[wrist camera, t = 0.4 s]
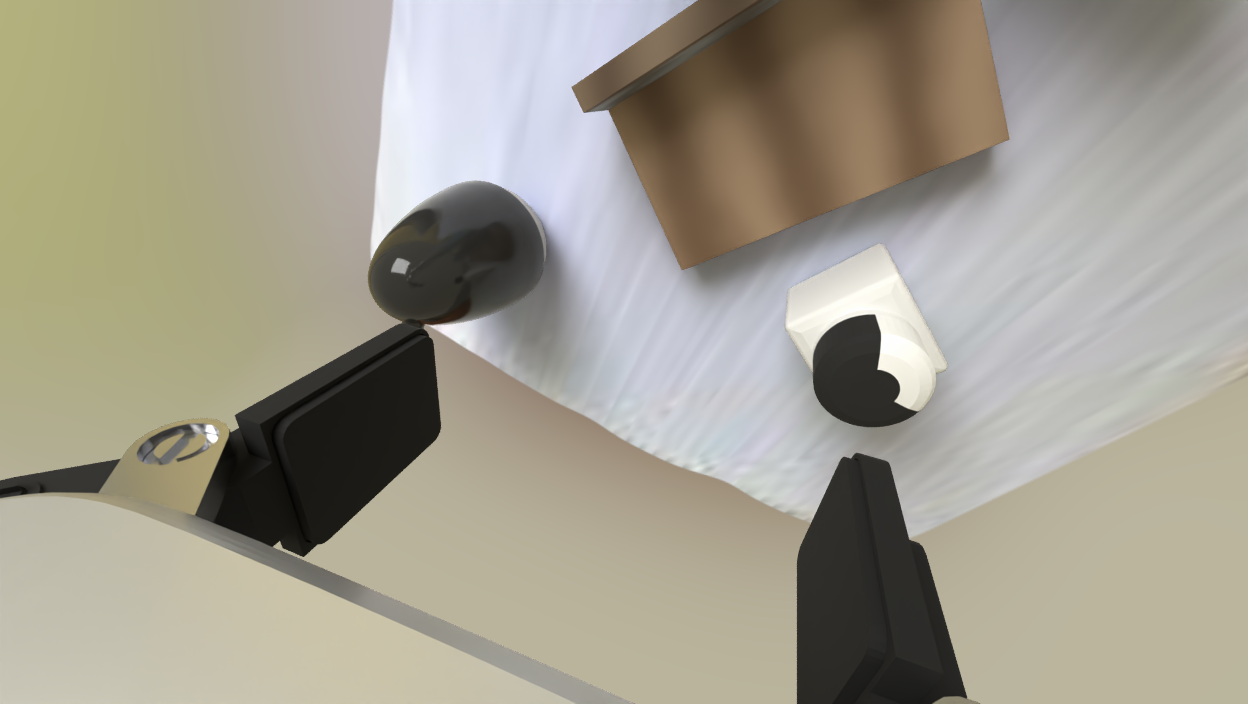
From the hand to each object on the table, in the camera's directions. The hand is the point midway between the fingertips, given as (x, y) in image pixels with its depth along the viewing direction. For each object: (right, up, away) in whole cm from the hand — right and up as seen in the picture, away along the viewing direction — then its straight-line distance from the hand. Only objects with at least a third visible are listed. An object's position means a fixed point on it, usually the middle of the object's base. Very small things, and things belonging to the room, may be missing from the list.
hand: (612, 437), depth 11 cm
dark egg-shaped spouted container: (-10, +12, +32) cm, 35 cm away
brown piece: (+11, +17, +21) cm, 29 cm away
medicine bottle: (+18, +6, +25) cm, 31 cm away
